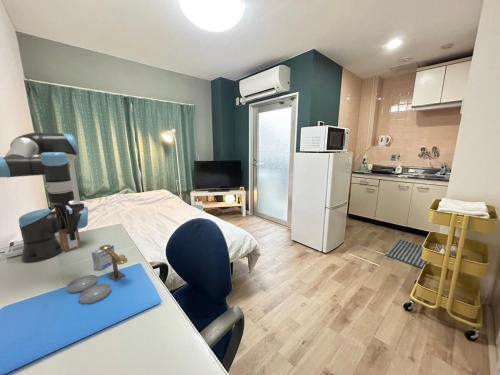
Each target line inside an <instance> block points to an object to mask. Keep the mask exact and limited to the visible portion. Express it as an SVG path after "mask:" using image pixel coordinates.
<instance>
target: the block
mask: <svg viewBox="0 0 500 375" xmlns="http://www.w3.org/2000/svg"><path fill="white" fill-rule="evenodd" d="M65 233H67V229H64V230H60V231H58V233H57V234H58V238H59V242H60V244H61V249H62V250H63V251H64V252H65V253H68V252H70V251H75V250H76V249H79V248H80V249H81V248H82V245H81V239H80V234H79V230H78V231H76V238H77V243H78V246H76V247H73V248H69V244H68V239H67V234H65Z"/></svg>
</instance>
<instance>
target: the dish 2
mask: <svg viewBox="0 0 500 375" xmlns="http://www.w3.org/2000/svg"><path fill="white" fill-rule="evenodd" d="M111 293H112V285H110V284H109V283H105V282H104V283H97V284H96V285H94V286H91V287H89V288H87V289H86V290H84V291H83V292H80V293H79V295H78V302H79V304H81V305H84V304H87V305H93V304H96V303H98V302H100V301H102V300H105V299H106V298H107V297H108V296H109V295H110V294H111Z"/></svg>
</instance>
